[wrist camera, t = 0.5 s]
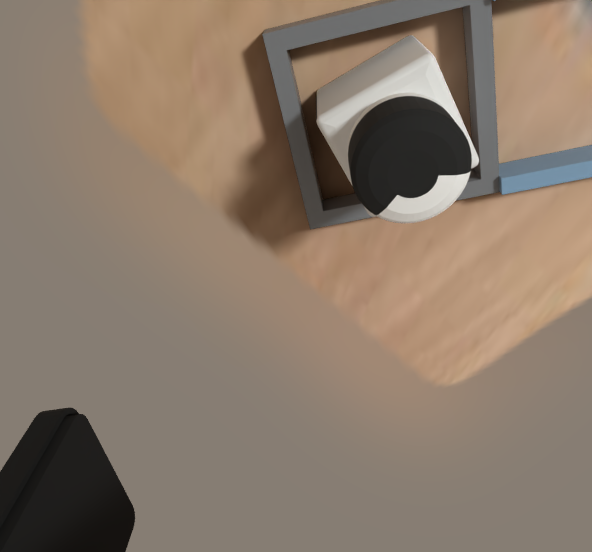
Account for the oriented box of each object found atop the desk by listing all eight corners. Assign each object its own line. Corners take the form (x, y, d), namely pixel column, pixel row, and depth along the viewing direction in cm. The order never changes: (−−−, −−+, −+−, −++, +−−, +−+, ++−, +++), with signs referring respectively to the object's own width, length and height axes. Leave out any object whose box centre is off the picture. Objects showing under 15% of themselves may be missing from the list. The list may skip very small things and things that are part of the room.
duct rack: (264, 29, 35) (261, 35, 33) (700, -81, 31) (729, -83, 29) (310, 217, 41) (310, 232, 39) (673, 144, 38) (694, 156, 36)
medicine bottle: (313, 90, 37) (313, 148, 26) (412, 31, 35) (453, 70, 24) (362, 178, 40) (379, 260, 30) (455, 129, 38) (508, 199, 27)
